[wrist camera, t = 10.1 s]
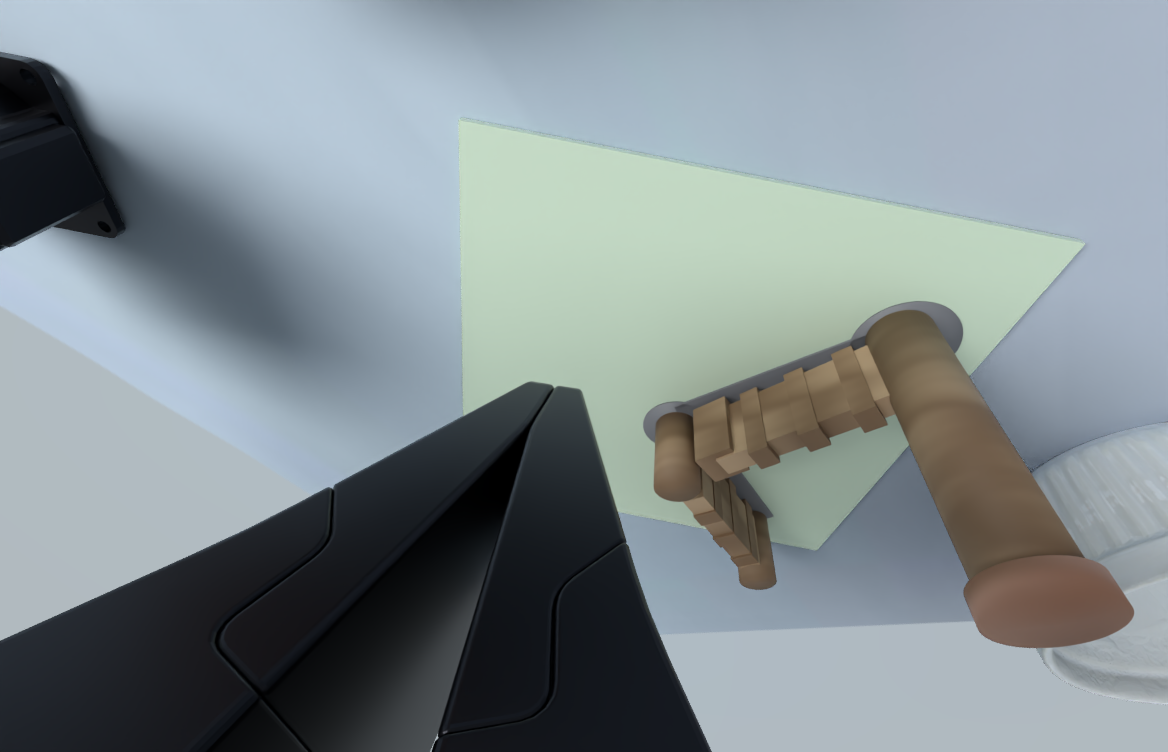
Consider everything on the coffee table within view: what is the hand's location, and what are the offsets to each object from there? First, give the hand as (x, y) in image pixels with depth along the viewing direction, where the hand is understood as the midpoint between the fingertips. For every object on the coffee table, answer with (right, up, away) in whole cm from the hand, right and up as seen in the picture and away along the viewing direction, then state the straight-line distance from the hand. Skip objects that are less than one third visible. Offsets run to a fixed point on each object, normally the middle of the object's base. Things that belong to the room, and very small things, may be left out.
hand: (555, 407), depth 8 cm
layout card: (+5, 0, +16) cm, 17 cm away
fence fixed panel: (+7, -5, +19) cm, 21 cm away
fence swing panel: (+10, 0, +14) cm, 17 cm away
